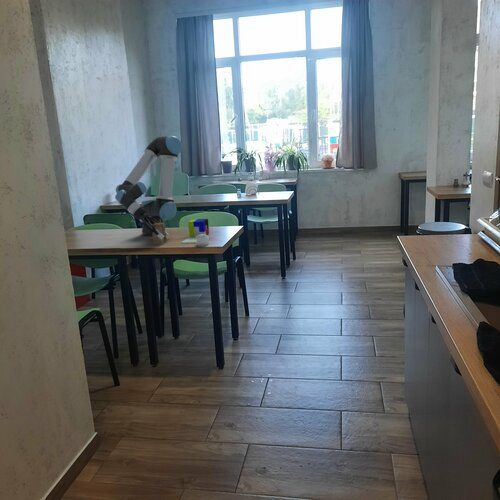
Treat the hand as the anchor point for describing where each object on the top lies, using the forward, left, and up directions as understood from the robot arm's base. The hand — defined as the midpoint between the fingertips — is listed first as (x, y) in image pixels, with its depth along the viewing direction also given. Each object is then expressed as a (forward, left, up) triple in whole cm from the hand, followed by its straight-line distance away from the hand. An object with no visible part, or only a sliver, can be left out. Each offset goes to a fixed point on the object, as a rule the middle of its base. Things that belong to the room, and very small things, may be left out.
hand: (164, 236), depth 281 cm
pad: (-6, +17, -4) cm, 19 cm away
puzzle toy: (-22, +14, -4) cm, 27 cm away
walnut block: (0, -4, -4) cm, 5 cm away
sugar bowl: (+5, +25, -4) cm, 26 cm away
